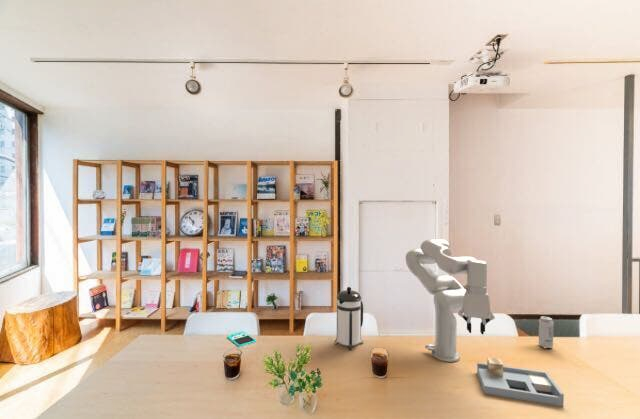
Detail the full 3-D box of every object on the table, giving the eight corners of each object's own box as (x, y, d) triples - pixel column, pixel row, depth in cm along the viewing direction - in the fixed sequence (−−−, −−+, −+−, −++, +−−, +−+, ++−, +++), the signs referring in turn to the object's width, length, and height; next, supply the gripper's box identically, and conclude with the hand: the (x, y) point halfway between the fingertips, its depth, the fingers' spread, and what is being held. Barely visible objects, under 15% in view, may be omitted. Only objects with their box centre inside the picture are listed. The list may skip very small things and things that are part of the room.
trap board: (484, 393, 124) (484, 382, 124) (477, 372, 139) (477, 362, 139) (563, 406, 116) (563, 394, 116) (546, 382, 132) (546, 372, 132)
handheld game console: (243, 332, 181) (243, 330, 181) (257, 342, 169) (257, 340, 169) (226, 337, 175) (226, 335, 175) (239, 348, 162) (239, 345, 162)
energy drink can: (548, 350, 160) (548, 320, 160) (535, 345, 166) (536, 316, 166) (555, 348, 163) (556, 319, 162) (543, 343, 168) (543, 315, 168)
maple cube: (489, 375, 132) (489, 363, 132) (486, 368, 137) (487, 357, 136) (503, 377, 130) (503, 364, 130) (500, 370, 135) (500, 359, 135)
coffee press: (366, 351, 159) (367, 291, 158) (334, 350, 159) (335, 290, 158) (362, 336, 176) (363, 282, 175) (333, 336, 176) (334, 282, 176)
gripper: (456, 290, 134) (455, 333, 134) (501, 293, 129) (500, 338, 129) (454, 285, 141) (453, 326, 141) (496, 288, 136) (495, 331, 136)
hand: (475, 332), depth 135 cm, fingers open, 4 cm apart
